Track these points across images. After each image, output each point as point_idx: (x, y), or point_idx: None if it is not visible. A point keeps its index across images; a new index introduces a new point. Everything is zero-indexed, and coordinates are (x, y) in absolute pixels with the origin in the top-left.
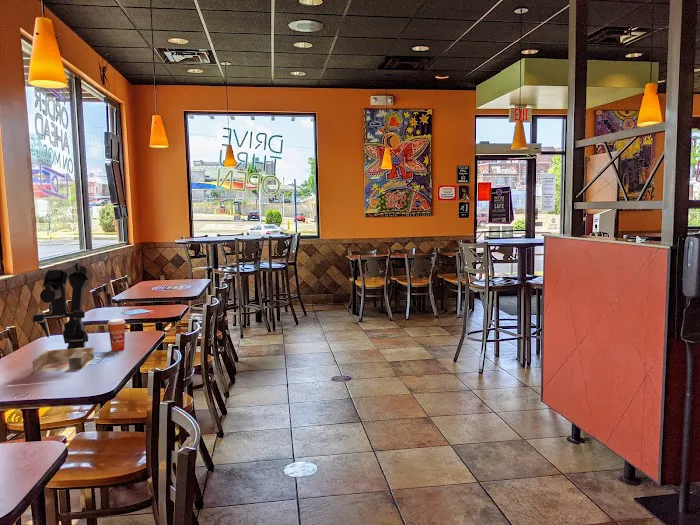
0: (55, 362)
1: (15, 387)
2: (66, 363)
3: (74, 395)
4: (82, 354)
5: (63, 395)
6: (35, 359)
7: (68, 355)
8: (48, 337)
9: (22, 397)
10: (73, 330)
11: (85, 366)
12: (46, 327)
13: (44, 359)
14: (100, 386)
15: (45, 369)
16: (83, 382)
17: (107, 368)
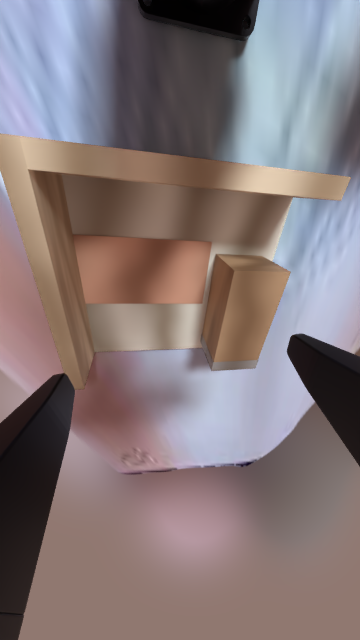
0: (108, 202)
1: (96, 430)
2: (175, 255)
3: (224, 460)
4: (263, 324)
5: (208, 460)
6: (71, 374)
7: (179, 185)
8: (73, 389)
9: (142, 464)
10: (329, 406)
11: None
12: (23, 571)
13: (67, 268)
14: (264, 436)
15: (111, 321)
16: (238, 419)
17: None
